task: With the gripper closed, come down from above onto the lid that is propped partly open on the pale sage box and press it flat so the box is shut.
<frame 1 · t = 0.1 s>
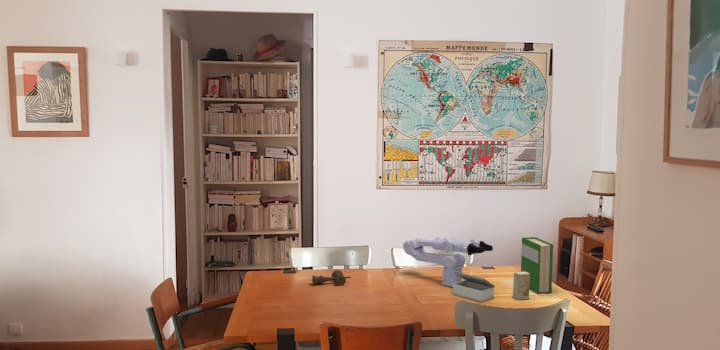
hand: (487, 249, 257), 22 cm above the table, tool horizontal, fingers open, 7 cm apart
hardback book: (535, 289, 268), on the table
skincare box: (521, 298, 252), on the table
lid: (474, 279, 255), point 8 cm above the table, hinge at 30.0°
box: (473, 296, 255), on the table
kendama: (331, 284, 275), on the table
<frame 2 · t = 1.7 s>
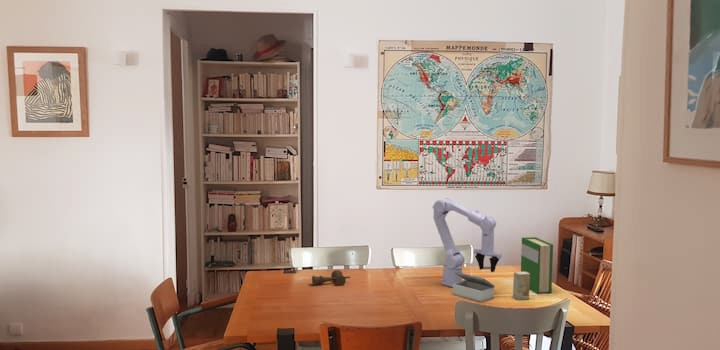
hand: (486, 270, 262), 10 cm above the table, tool pointing down, fingers open, 6 cm apart
nothing on the table moved.
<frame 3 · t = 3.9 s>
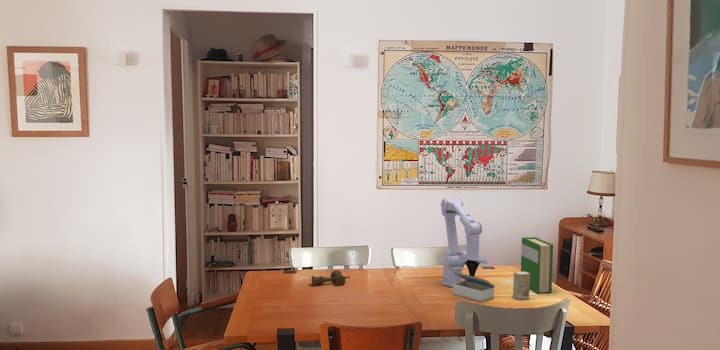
hand: (472, 276, 254), 10 cm above the table, tool pointing down, fingers closed, pressing on lid
lid: (474, 279, 255), point 8 cm above the table, hinge at 28.9°, touching gripper
everything else where it was.
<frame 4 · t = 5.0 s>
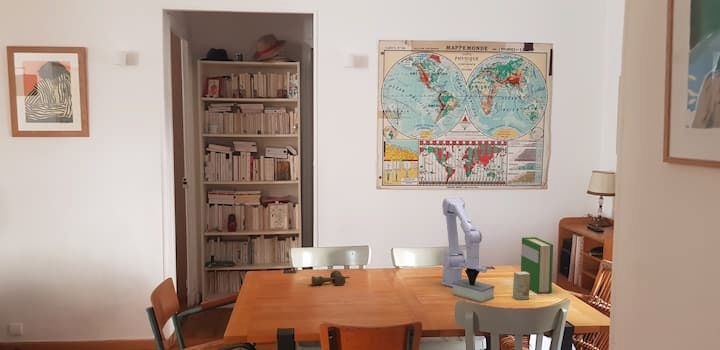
hand: (472, 284, 254), 6 cm above the table, tool pointing down, fingers closed, pressing on lid
lid: (473, 285, 255), point 5 cm above the table, hinge at 0.3°, touching gripper
everything else where it was.
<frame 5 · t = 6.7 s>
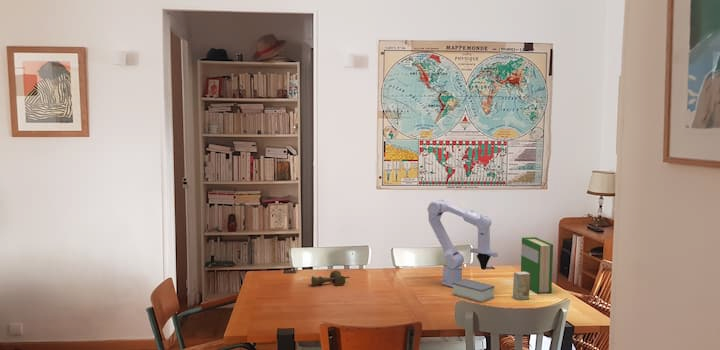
hand: (483, 269, 264), 10 cm above the table, tool pointing down, fingers closed
lid: (473, 285, 255), point 5 cm above the table, hinge at 0.3°
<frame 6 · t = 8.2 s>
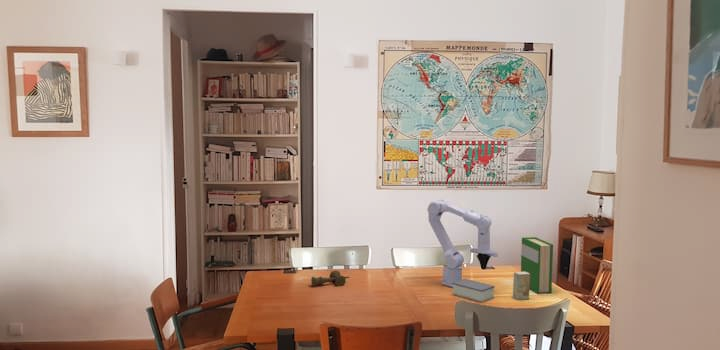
hand: (483, 269, 264), 10 cm above the table, tool pointing down, fingers closed
at the end: lid at +0° (first picture: +30°); skincare box tilted 0° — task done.
